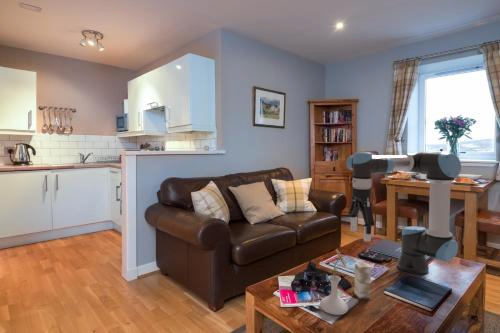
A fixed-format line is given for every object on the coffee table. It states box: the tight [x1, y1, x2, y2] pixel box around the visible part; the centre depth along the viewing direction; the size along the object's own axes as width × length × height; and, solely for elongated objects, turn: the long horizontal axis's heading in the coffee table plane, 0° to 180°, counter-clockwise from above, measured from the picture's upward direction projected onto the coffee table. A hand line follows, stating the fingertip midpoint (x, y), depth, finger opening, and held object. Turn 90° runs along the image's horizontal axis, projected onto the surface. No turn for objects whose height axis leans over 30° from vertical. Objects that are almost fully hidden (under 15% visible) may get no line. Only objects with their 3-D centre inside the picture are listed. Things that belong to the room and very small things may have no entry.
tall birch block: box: [353, 261, 372, 301], centre depth 129 cm, size 5×5×15 cm
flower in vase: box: [319, 248, 349, 316], centre depth 120 cm, size 13×11×25 cm
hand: (360, 236), depth 126 cm, fingers open, 13 cm apart
